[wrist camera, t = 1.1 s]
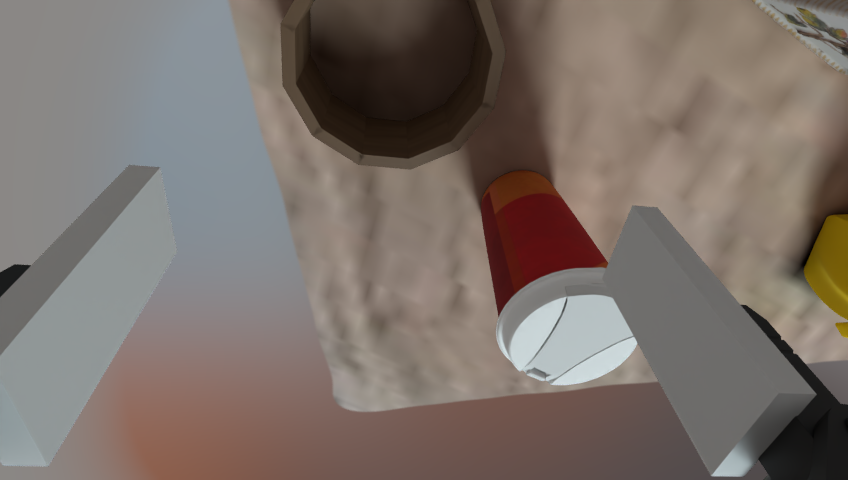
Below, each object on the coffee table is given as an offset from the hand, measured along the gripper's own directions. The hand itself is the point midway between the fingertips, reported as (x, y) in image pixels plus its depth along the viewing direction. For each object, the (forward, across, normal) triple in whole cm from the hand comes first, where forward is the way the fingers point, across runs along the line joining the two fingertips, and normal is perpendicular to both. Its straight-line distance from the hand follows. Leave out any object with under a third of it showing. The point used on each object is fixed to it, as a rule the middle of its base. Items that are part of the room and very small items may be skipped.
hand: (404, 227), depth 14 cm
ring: (+22, 0, 0) cm, 22 cm away
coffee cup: (+22, +11, -11) cm, 27 cm away
